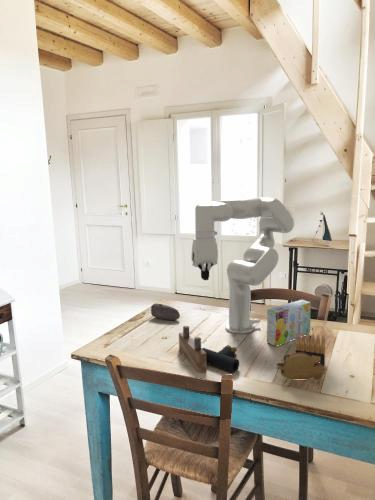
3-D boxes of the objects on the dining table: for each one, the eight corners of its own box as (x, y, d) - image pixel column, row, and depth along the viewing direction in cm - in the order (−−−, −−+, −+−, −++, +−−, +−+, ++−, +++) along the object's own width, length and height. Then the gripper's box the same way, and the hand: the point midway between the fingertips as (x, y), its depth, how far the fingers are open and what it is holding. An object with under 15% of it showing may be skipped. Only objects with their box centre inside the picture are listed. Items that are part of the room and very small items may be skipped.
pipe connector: (216, 339, 160) (248, 350, 150) (216, 352, 161) (248, 363, 151) (198, 350, 151) (231, 361, 142) (198, 363, 153) (231, 375, 143)
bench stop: (186, 348, 164) (185, 322, 162) (206, 371, 145) (206, 342, 143) (179, 349, 163) (178, 323, 161) (198, 373, 144) (198, 344, 142)
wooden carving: (321, 375, 141) (322, 348, 139) (325, 382, 137) (327, 354, 135) (274, 376, 141) (275, 349, 139) (277, 383, 136) (278, 355, 135)
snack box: (300, 331, 180) (301, 298, 177) (310, 335, 175) (312, 302, 173) (266, 343, 168) (266, 308, 165) (276, 347, 164) (277, 312, 161)
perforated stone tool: (182, 319, 196) (182, 305, 195) (177, 323, 192) (176, 309, 191) (155, 315, 203) (155, 301, 202) (150, 318, 199) (149, 304, 197)
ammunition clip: (294, 362, 151) (295, 332, 148) (294, 360, 152) (296, 330, 150) (324, 367, 147) (326, 336, 145) (324, 365, 149) (326, 334, 146)
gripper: (217, 232, 168) (217, 275, 172) (184, 235, 163) (184, 279, 166) (225, 235, 161) (225, 279, 165) (191, 237, 156) (191, 283, 159)
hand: (205, 279), depth 166 cm, fingers closed
